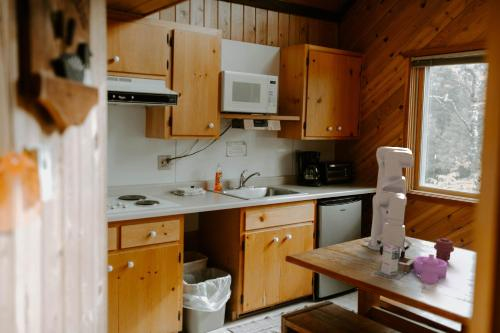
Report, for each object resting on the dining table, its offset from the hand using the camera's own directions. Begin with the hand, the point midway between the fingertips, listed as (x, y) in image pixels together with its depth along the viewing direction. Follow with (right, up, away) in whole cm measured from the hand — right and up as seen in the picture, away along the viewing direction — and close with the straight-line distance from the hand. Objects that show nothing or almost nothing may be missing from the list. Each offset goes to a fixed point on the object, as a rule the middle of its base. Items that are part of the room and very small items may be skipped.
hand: (391, 256), depth 234 cm
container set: (+18, -10, +1) cm, 21 cm away
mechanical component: (+35, -8, +27) cm, 45 cm away
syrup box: (-1, -8, +1) cm, 9 cm away
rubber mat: (0, -9, +1) cm, 9 cm away
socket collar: (+7, -8, +13) cm, 16 cm away
